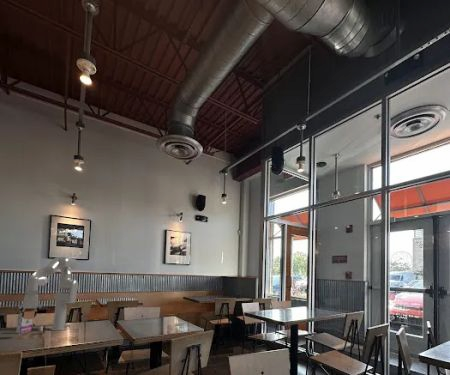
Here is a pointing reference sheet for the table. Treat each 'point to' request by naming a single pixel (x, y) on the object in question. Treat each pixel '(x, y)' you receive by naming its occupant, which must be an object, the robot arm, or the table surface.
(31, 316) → the collar
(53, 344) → the table surface
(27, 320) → the candy bar box
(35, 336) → the post board
